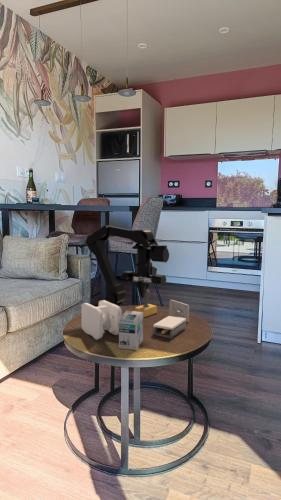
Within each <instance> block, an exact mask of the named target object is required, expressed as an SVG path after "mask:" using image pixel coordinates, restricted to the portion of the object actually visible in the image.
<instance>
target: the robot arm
mask: <svg viewBox="0 0 281 500" xmlns="http://www.w3.org/2000/svg"><path fill="white" fill-rule="evenodd" d="M111 236H112V237H117V238H123V239H127V240H130V241H132V242H134V243H135V245H133V246H132V249H133V250H136V262H134V266H136V271H134V270H133V271H132V270H125V271H123V272H121V273H120V279H122V280H129V278H131V279H133V280H132V283H133V284H134V285H135V287H136V289H137V291H138V294H139V295H140V297H141V298H142V299H144V296H145V294H146V291H147V289H149V286H150V285H151V284H157V285H161V284H164V283H166V282H167V277H166V275H165V274H159V273H157V271H158V268H157V267H155V266H153V262H157V263H165V264H166V263H167V262H169V258H170V252H169V249H168V246H167V244H164V245H161V244H160V245H159V244H158V242H157V241H156V238H155V237H154V233H153V231H151V230H150V229H131V228H130V229H129V228H123V227H117V226H113V225H103V226H101V227H100V228H99V229H98V230H96V231H94V232H93V233H92V234H90V235H87V237H86V239H85V243H86V244H85V245H86V246H87V248H88V250H89V252H91V253H92V254H93V255H94V257H95V259H96V262H97V265H98V266H99V270H100V272H101V276H102V277H103V279H104V283H105V285H106V286H105V287H106V288H105V294H106V297H105V298H104V299H103V300H106V301H108V302H110V303H113V304H115V305H117V306H119V307H120V308H121V305H123V303H124V301H125V299H126V298H127V294H126V293H127V291H126V289H125V286H124V285H125V284H124V283H119V282H118V281H117V278H116V276H115V274H114V270H113V268H112V265H111V263H110V259H109V258H108V257H109V256H108V255H107V252H106V250H107V243H106V242H107V241H108V240H109V238H110V237H111Z"/></svg>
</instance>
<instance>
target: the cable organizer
mask: <svg viewBox="0 0 281 500" xmlns="http://www.w3.org/2000/svg"><path fill="white" fill-rule="evenodd" d="M122 315H123V311H122V308H121V306H120V307H119V306H117V305H115V304H113V303H110V302H108V301H106V300H104V299H103V300H98V306H95V305H93V304H90V303H89V302H83V303H81V329H82V331H83V332H84V333H85V334H87V335H90V336H91V337H92V338H93V339H95V340H96V341H98V340H101V339H103V335H105V333H106V332H105V331H108V332H109V333H110V334H112V335H114V336H117V335H119V318H120V317H121V316H122Z"/></svg>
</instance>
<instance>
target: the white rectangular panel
mask: <svg viewBox="0 0 281 500" xmlns="http://www.w3.org/2000/svg"><path fill="white" fill-rule="evenodd" d="M184 321H186V318H180V317H173V316H169V315H167V316H166V317H164V318H163V319H161V320H159V321H158V322H155V323H154V324H153V325H152V327H157V328H164V329H170V330H173V329H174V328H176V327H177V326H178V325H180V324H181V323H183V322H184Z"/></svg>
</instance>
